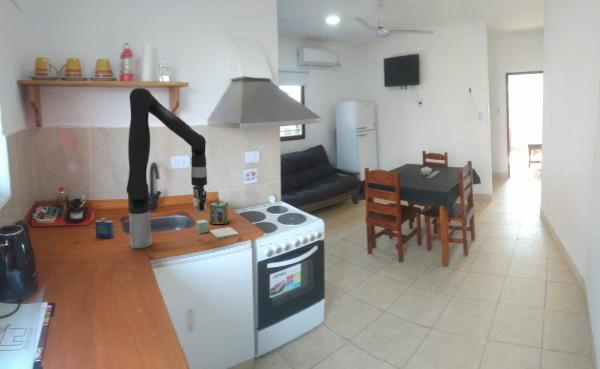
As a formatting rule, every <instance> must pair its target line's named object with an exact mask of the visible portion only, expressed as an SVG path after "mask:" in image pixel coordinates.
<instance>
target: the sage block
mask: <svg viewBox="0 0 600 369" xmlns="http://www.w3.org/2000/svg"><path fill="white" fill-rule="evenodd" d="M195 229H196V230H195V231H196V232H197V231H198V232H199V233H202V232H207V231H208V232H209V222H208V220H206V219H200V220H196V221H195ZM198 232H197V233H198ZM199 233H198V234H199ZM202 234H203V233H202Z"/></svg>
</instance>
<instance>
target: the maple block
mask: <svg viewBox="0 0 600 369" xmlns="http://www.w3.org/2000/svg"><path fill="white" fill-rule="evenodd" d="M192 199H193V202H192V204H193V211H194V212H195V213H200V212H201V213H202V212H207V201H206V202H204V210H199V199H198V198H194V197H193V198H192ZM202 200H203V198H202Z"/></svg>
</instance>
